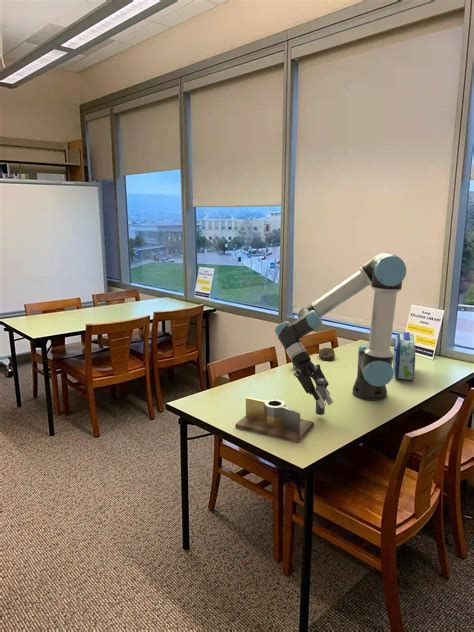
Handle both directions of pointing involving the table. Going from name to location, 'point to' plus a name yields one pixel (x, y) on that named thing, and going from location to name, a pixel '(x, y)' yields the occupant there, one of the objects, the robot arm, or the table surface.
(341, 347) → the table surface
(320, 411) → the hinge pin
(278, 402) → the hinge
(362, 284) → the robot arm
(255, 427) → the hinge base
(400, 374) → the lunch box
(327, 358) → the concrete sample
